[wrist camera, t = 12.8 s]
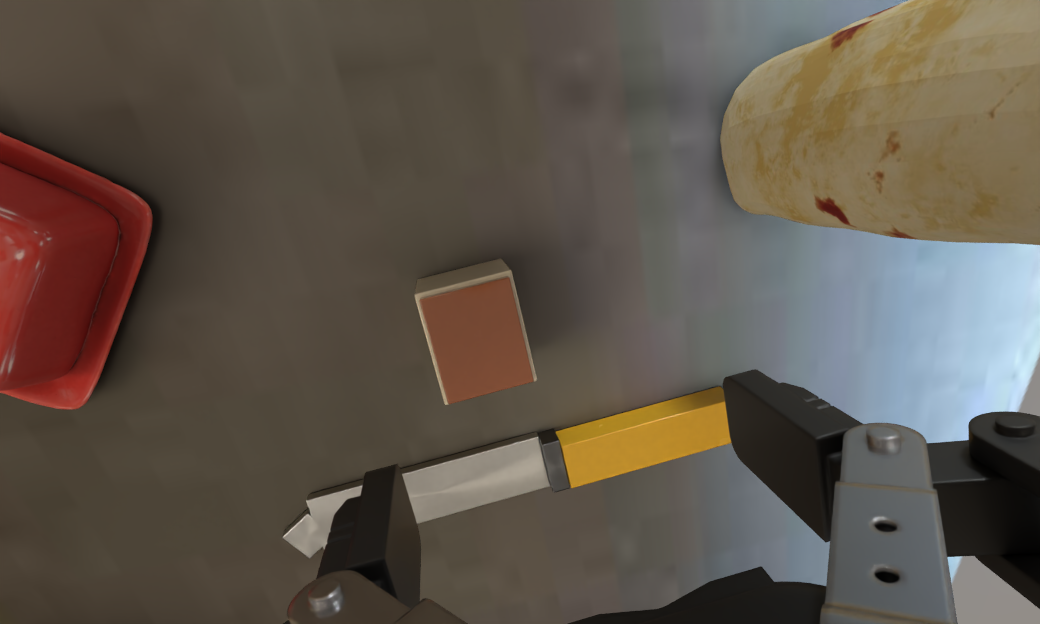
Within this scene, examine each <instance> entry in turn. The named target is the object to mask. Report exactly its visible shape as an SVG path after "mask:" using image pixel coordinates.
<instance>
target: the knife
mask: <svg viewBox="0 0 1040 624" xmlns="http://www.w3.org/2000/svg"><path fill="white" fill-rule="evenodd" d="M729 443H731V439H730V434H729V427H728V419H727V412H726V405H725V397H724V390H723V388H721V387H720V386H719V387H715V388H711V389H708V390H704V391H701V392H697V393H693V394H690V395H686V396H682V397H679V398H675V399H672V400H668V401H664V402H661V403H657V404H653V405H650V406H646V407H643V408H639V409H635V410H632V411H628V412H624V413H621V414H617V415H614V416H610V417H606V418H603V419H599V420H595V421H592V422H588V423H585V424H581V425H577V426H574V427H570V428H566V429H563V430H559V431H556V432H555V430H554V429H551V430H547V431H543V432H540V433H538V434H537V432H534V433H530V434H526V435H523V436H519V437H515V438H512V439H508V440H505V441H501V442H497V443H494V444H490V445H486V446H483V447H479V448H475V449H472V450H468V451H465V452H461V453H457V454H454V455H450V456H446V457H443V458H439V459H436V460H432V461H428V462H425V463H421V464H417V465H414V466H410V467H406V468H403V469H400V470H401V473H402V476H403V479H404V482H405V486H406V489H407V492H408V495H409V499H410V502H411V505H412V509H413V512H414V515H415V518H416V522H417V524H419V523H423V522H426V521H430V520H433V519H437V518H440V517H444V516H447V515H451V514H454V513H458V512H461V511H465V510H468V509H472V508H475V507H479V506H483V505H486V504H490V503H493V502H497V501H500V500H504V499H507V498H511V497H514V496H518V495H521V494H525V493H528V492H532V491H535V490H539V489H543V488H546V487H550V485H551V488H552V490H553V492H558V491H561V490H565V489H568V488H570V486H571V488H575V487H578V486H582V485H585V484H589V483H592V482H596V481H599V480H603V479H606V478H610V477H613V476H617V475H620V474H624V473H627V472H631V471H634V470H638V469H641V468H645V467H648V466H652V465H655V464H659V463H662V462H666V461H669V460H673V459H676V458H680V457H683V456H687V455H691V454H694V453H698V452H701V451H705V450H708V449H712V448H715V447H719V446H722V445H726V444H729ZM363 481H364V479H363V480H359V481H356V482H352V483H348V484H345V485H341V486H337V487H334V488H330V489H327V490H323V491H319V492H316V493H312V494H309V495H308V497H307V500H306V502H307V505H308V509H307V510H306V511H305V512H304V513H303V514H302V515H301V516H300V517H299V518H298V519H297V520H295V521H294V522H293V523H292V524H291V525H290V526H289V527H288V528H287V529H286V530H285V532H284V534H283V537H282V538H283V539H285V540H286V541H287V542H289V543H290V544H291V545H292V546H294V547H295V548H296V549H298V550H299V551H300V552H302V553H303V554H304V555H305V556H307V557H308V558H311V557H312V556H313V555H314V554H315V553H316V552H317V551H318V550H320V549H321V548H322V547H323V549H324V550H325V546H326V544H327V539H328V535H329V532H331V531H330V528H331V524H332V521H333V517H334V514H335V513H336V512H337V511H338V509H339V508H340V507H341V506H342V505H343V503H344V502H345V501H346V500H347V499H350V498H353V497H357V496H360V495H361V490H362V486H363Z"/></svg>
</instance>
